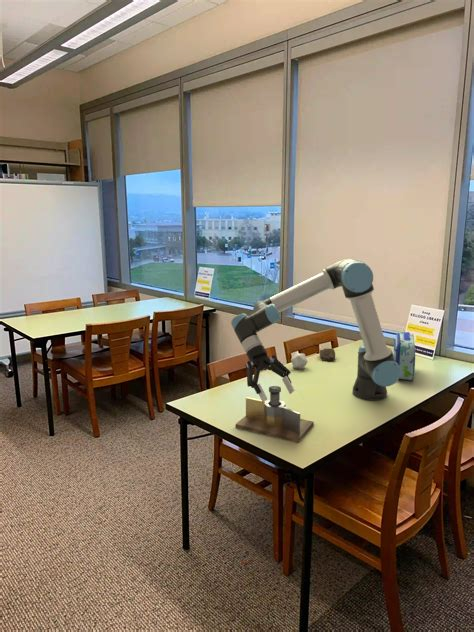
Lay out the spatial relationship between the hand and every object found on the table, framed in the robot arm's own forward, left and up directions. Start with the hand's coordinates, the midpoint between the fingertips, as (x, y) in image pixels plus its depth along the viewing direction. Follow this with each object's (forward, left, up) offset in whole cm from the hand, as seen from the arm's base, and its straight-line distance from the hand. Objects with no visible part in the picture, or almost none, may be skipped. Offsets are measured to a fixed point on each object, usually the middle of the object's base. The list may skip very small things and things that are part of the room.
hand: (279, 396), depth 168 cm
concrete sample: (+11, -94, -14) cm, 95 cm away
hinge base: (+2, -1, -13) cm, 13 cm away
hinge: (+2, -1, -12) cm, 12 cm away
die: (+19, -71, -13) cm, 75 cm away
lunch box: (-32, -86, -13) cm, 93 cm away
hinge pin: (+2, -1, -12) cm, 12 cm away
